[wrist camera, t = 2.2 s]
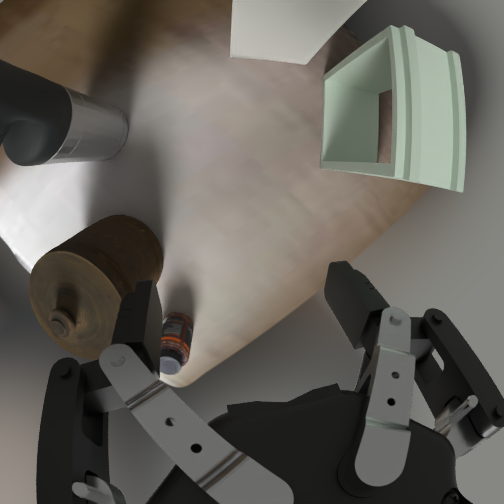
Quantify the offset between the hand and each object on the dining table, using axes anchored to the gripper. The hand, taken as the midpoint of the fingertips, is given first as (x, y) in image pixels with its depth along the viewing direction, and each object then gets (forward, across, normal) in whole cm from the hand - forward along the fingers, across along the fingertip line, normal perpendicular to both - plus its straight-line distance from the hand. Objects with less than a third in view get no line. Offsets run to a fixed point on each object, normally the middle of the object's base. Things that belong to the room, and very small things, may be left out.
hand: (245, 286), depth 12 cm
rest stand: (+31, -22, -5) cm, 38 cm away
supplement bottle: (+26, +8, +29) cm, 40 cm away
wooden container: (+30, +16, +16) cm, 37 cm away
